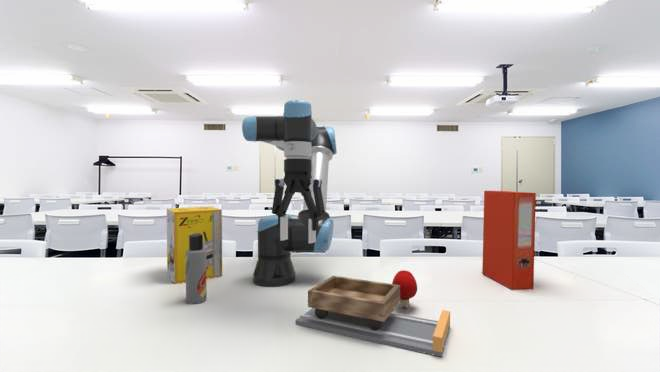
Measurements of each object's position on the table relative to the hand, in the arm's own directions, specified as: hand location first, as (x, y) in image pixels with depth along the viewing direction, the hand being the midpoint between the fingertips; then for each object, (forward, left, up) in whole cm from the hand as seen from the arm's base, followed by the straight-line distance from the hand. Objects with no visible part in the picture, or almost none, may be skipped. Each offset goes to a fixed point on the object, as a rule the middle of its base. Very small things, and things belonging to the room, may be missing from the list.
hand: (297, 241), depth 91 cm
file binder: (+53, +55, -20) cm, 79 cm away
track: (+22, 0, -19) cm, 29 cm away
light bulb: (+26, +15, -20) cm, 36 cm away
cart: (+17, 0, -18) cm, 24 cm away
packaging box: (-53, +12, -20) cm, 58 cm away
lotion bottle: (-31, -7, -20) cm, 37 cm away
